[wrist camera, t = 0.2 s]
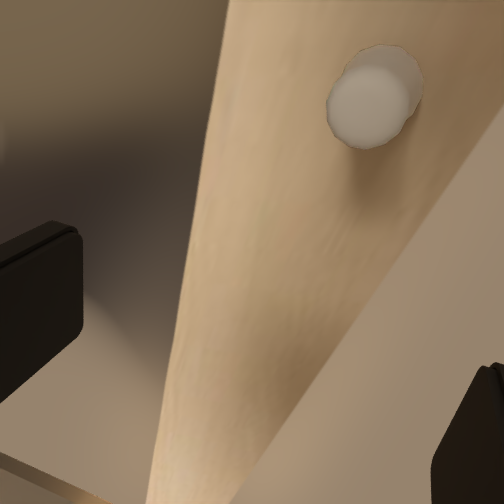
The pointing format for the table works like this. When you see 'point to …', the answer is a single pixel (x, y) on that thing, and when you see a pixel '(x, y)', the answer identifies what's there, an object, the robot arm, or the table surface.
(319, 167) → the table surface
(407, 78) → the salt shaker
